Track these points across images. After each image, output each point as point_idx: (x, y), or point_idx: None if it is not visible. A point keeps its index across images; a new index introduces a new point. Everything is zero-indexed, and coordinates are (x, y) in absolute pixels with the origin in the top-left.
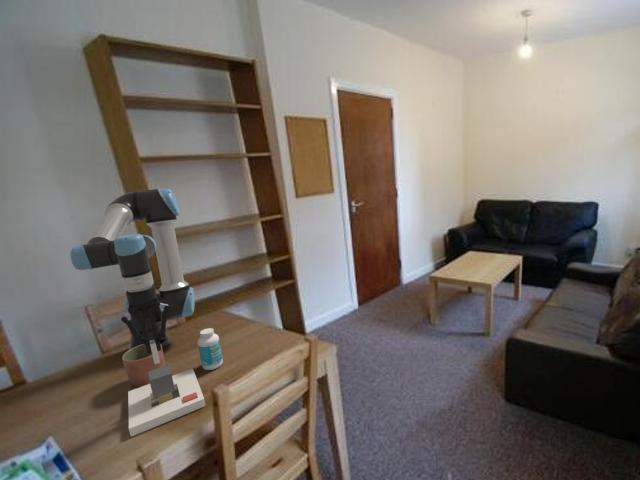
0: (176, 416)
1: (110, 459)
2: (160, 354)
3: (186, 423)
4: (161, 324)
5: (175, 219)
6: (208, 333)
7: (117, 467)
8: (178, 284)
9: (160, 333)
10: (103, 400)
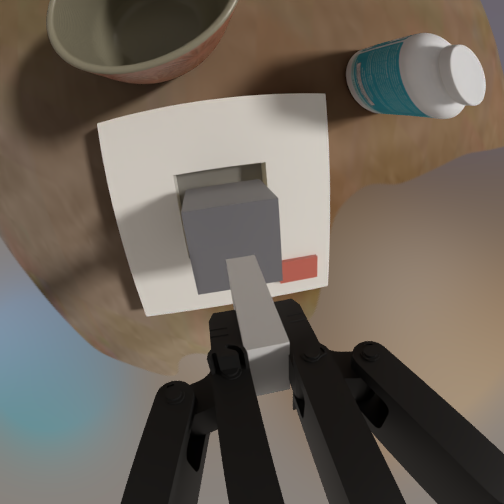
0: None
1: (128, 342)
2: (228, 21)
3: None
4: (404, 466)
5: None
6: (472, 105)
7: (150, 362)
8: None
9: (356, 387)
10: (36, 102)
